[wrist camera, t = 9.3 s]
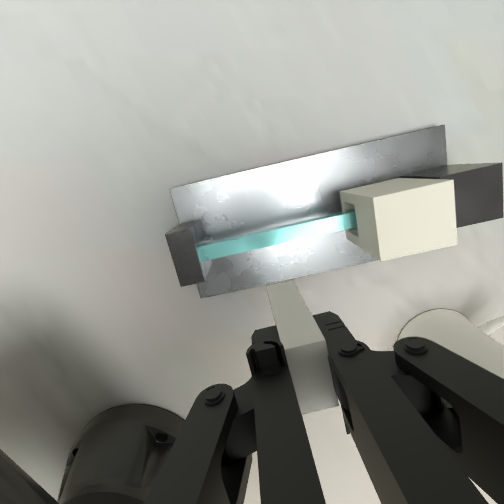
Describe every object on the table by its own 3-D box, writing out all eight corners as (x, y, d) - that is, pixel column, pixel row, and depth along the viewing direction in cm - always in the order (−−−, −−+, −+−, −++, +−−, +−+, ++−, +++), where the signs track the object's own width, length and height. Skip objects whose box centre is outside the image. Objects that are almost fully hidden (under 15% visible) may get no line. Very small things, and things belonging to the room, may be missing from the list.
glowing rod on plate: (202, 293, 32) (189, 328, 25) (172, 188, 29) (148, 192, 22) (444, 241, 31) (504, 261, 24) (436, 126, 28) (501, 110, 21)
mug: (464, 270, 32) (590, 326, 20) (513, 320, 33) (657, 400, 22) (379, 347, 34) (449, 438, 22) (429, 391, 35) (519, 498, 24)
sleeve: (346, 238, 27) (380, 261, 20) (339, 191, 26) (373, 197, 19) (403, 226, 27) (457, 244, 20) (398, 178, 26) (453, 179, 19)
